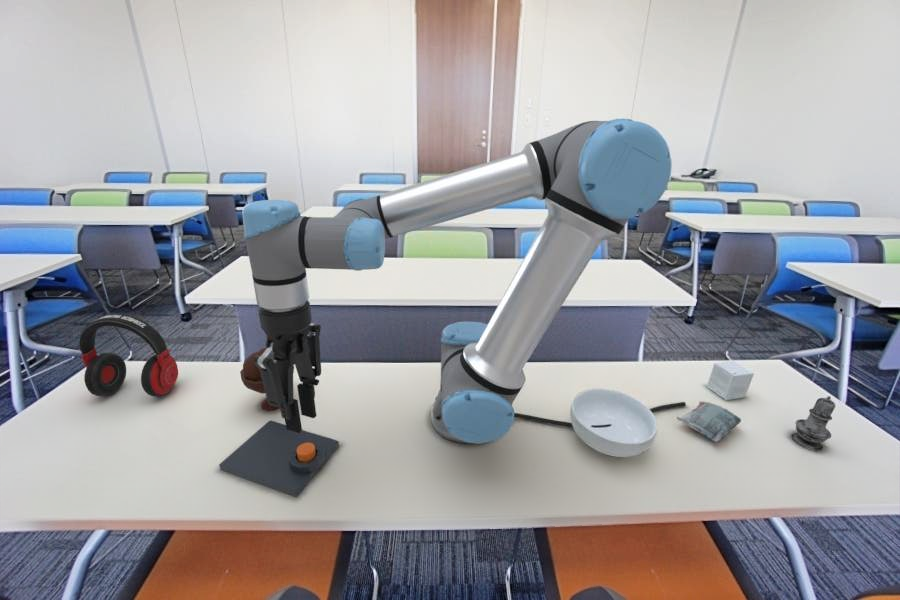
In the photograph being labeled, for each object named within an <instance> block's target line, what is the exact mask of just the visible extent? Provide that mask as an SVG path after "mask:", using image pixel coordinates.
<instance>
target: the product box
mask: <svg viewBox="0 0 900 600" xmlns="http://www.w3.org/2000/svg"><path fill="white" fill-rule="evenodd" d="M754 375H755V373H754V372H753V371H751V370H750V369H748V368H746V367H745V366H743V365H741V364H739V363H738V362H737V361H735V360H727V361H720V362H714V363H713V367H712V369H711V372H710V376H709V379H708V382H707V385H706V387H707V388H708V389H709V390H711V391H712V392H714V393H715V394H717V396H719V397H720V398H722V399H723V400H725V401H730V400H731V401H732V400H737V399H743V398H746V396H747V393H748V391H749V388H750V385H751V382H752V380H753V377H754ZM710 385H711V386H712V387H711V386H710ZM714 388H715V389H716V390H715V389H714ZM722 394H723V395H722ZM741 395H742V396H741Z"/></svg>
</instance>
